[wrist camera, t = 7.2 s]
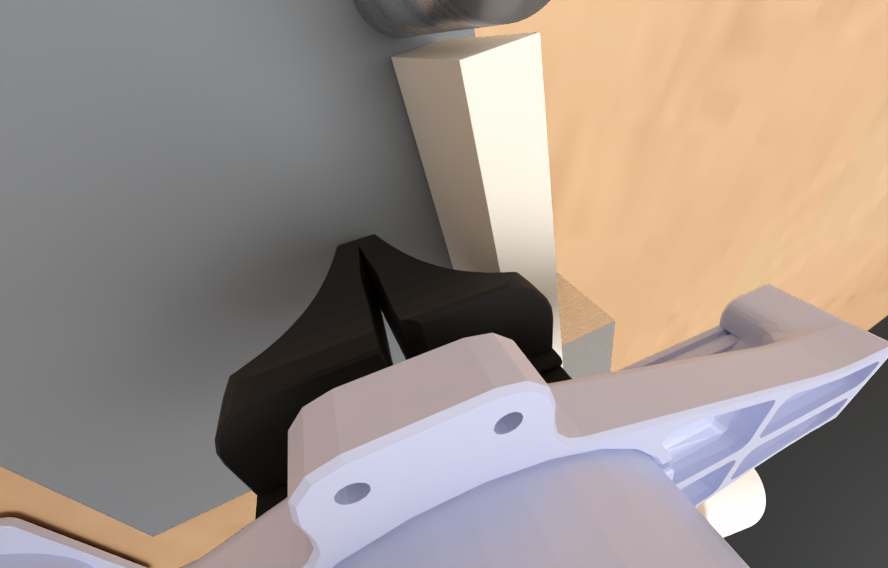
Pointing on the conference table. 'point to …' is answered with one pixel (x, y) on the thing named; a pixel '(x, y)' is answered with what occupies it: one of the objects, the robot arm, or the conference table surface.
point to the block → (486, 153)
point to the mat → (180, 223)
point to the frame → (481, 5)
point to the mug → (736, 505)
